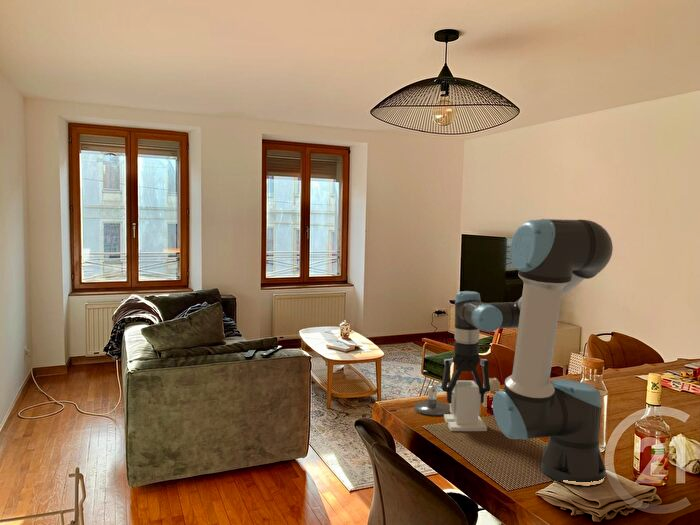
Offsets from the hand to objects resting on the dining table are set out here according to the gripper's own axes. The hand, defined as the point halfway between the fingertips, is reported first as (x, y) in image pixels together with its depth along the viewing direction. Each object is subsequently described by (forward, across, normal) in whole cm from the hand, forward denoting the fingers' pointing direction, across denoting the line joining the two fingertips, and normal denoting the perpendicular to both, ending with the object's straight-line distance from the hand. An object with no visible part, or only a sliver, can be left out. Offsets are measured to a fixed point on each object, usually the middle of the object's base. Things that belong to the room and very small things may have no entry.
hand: (464, 412), depth 166 cm
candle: (+4, -13, -16) cm, 21 cm away
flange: (+4, 0, 0) cm, 4 cm away
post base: (+4, +8, -13) cm, 16 cm away
